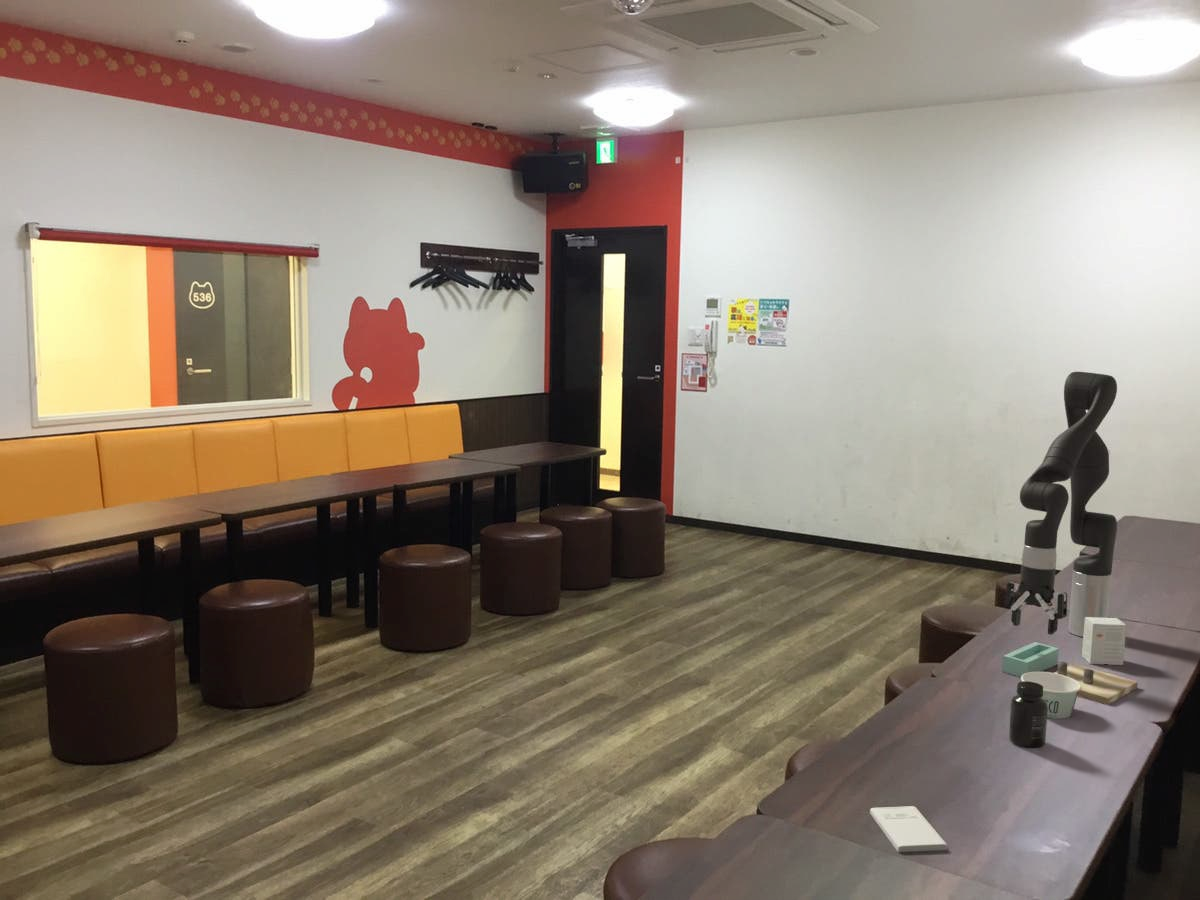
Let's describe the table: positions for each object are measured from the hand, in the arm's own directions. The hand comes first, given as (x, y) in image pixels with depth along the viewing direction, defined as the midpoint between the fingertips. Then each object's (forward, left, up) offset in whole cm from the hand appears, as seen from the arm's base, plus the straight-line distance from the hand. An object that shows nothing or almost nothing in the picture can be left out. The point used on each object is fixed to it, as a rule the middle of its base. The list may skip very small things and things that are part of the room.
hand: (1033, 629), depth 238 cm
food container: (+22, +15, -10) cm, 28 cm away
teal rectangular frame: (0, 0, -10) cm, 10 cm away
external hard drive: (+91, +24, -11) cm, 95 cm away
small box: (-19, +9, -10) cm, 23 cm away
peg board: (+1, +14, -10) cm, 17 cm away
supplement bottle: (+42, +20, -10) cm, 47 cm away
